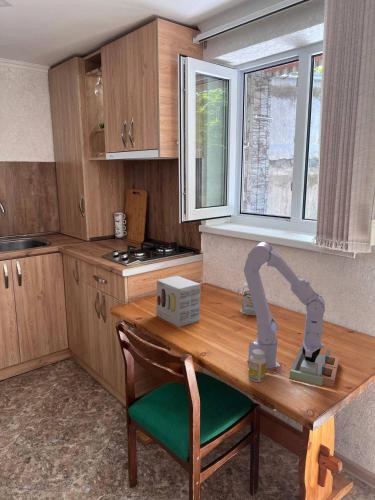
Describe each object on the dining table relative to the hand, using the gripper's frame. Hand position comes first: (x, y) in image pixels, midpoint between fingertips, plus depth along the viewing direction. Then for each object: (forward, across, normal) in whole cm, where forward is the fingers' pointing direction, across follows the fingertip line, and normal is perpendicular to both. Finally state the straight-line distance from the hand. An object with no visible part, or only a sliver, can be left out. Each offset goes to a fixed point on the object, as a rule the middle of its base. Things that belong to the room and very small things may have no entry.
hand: (309, 367), depth 130 cm
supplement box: (+2, +21, +63) cm, 67 cm away
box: (+2, +3, -2) cm, 4 cm away
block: (+1, -4, 0) cm, 4 cm away
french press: (+2, +47, +37) cm, 60 cm away
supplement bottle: (+2, -13, +15) cm, 20 cm away
